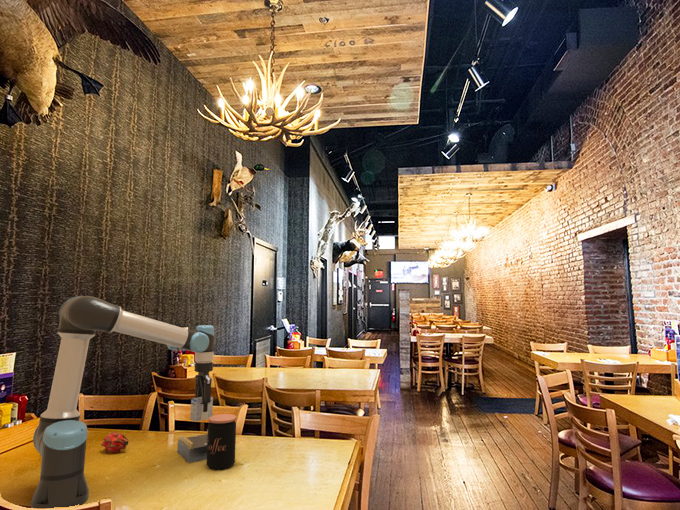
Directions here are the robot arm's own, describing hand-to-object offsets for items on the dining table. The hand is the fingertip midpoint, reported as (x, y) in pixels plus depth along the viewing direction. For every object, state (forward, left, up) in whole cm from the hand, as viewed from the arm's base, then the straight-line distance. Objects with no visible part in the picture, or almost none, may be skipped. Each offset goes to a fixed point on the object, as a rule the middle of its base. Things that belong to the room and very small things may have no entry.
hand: (201, 418), depth 178 cm
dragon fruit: (+24, +28, -15) cm, 40 cm away
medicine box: (0, 0, -1) cm, 1 cm away
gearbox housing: (0, -1, -14) cm, 14 cm away
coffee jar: (-18, -2, -15) cm, 23 cm away
